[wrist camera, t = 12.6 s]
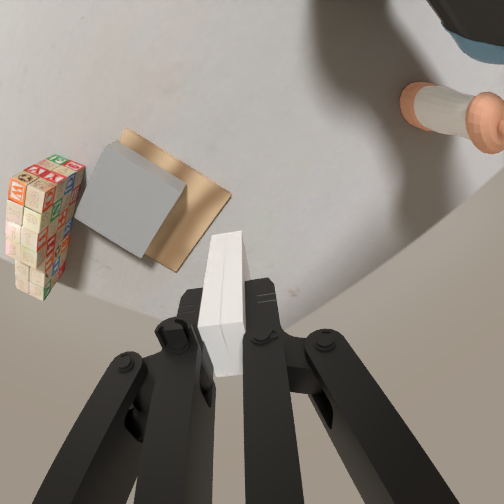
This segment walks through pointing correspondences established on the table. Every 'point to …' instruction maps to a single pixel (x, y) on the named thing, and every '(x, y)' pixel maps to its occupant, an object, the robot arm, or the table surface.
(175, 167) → the mat
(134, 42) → the table surface
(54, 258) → the stack of blocks
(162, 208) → the block
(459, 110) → the salt shaker
